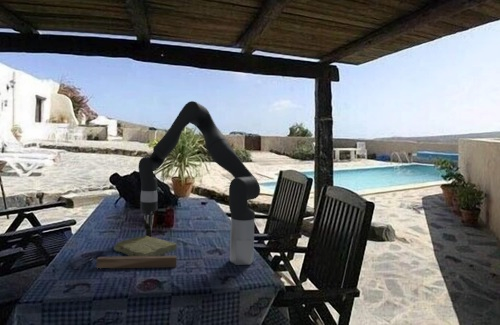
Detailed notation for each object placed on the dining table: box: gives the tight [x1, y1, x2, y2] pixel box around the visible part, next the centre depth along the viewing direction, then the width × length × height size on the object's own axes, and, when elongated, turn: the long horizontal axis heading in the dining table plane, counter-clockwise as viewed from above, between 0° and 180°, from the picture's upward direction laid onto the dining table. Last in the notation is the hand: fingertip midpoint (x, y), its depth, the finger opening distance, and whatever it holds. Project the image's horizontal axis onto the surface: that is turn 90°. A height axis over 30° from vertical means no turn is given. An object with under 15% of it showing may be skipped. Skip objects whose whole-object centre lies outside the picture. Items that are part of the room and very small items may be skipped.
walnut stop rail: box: [96, 255, 178, 270], centre depth 137 cm, size 2×28×4 cm, turn 99°
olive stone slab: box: [113, 235, 178, 256], centre depth 156 cm, size 19×20×4 cm
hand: (148, 237), depth 171 cm, fingers closed
